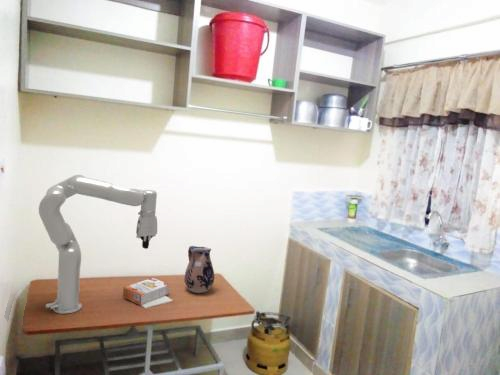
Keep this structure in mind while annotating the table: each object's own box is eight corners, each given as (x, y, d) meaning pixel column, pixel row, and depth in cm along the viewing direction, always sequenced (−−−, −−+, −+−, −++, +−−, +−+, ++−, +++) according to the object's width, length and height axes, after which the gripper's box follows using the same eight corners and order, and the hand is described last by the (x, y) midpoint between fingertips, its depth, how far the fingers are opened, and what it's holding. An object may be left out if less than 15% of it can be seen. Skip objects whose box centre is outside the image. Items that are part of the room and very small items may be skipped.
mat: (145, 308, 187) (145, 307, 187) (127, 295, 201) (127, 294, 200) (172, 301, 199) (172, 300, 199) (154, 289, 212) (154, 288, 212)
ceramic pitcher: (198, 299, 206) (202, 255, 203) (173, 287, 218) (176, 246, 215) (219, 291, 220) (223, 250, 217) (194, 280, 232) (197, 242, 229)
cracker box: (123, 286, 196) (152, 277, 214) (122, 297, 196) (151, 287, 214) (141, 294, 188) (170, 284, 206) (140, 305, 189) (169, 294, 207)
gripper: (138, 216, 183) (135, 251, 185) (164, 214, 194) (161, 248, 196) (131, 213, 189) (128, 247, 191) (156, 211, 199) (154, 244, 201)
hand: (145, 247), depth 193 cm, fingers closed
